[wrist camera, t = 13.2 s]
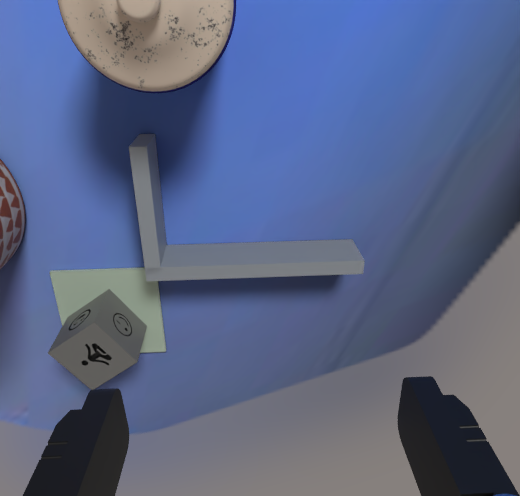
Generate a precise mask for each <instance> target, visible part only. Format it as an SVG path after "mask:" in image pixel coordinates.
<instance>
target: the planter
mask: <svg viewBox="0 0 520 496" xmlns="http://www.w3.org/2000/svg"><path fill="white" fill-rule="evenodd" d="M24 229H25V208H24V203H23V198H22V195H21V192H20V190H19V187H18V185H17V183H16V181H15V179H14V177H13V176H12V174H11V172H10V171H9V169H8V168H7V167H6V165H5V164H4V163H3V161H2V160H1V159H0V269H1V268H2V267H3V266H4V265H5V264H6V263H7V262H8V261H9V260H10V258H11V257H12V256H13V255H14V253H15V252H16V250H17V249H18V247H19V245H20V243H21V240H22V237H23V234H24Z"/></svg>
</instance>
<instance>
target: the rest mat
mask: <svg viewBox="0 0 520 496" xmlns="http://www.w3.org/2000/svg"><path fill="white" fill-rule="evenodd" d="M50 276H51V280H52V284H53V289H54V293H55V297H56V301H57V305H58V310H59V314H60V318H61V322H62V326H63V325H64V323H65V321H66V319H67V317H69V316H70V315H72V314H73V313H74V312H76V311H77V310H79V309H80V308H82V307H83V306H85V305H86V304H88V303H89V302H91V301H92V300H93V299H95V298H96V297H98V296H99V295H101V294H102V293H104V292H105V291H107V290H108V289H110V290H111V291H112V292H113V293H114V294H115V295H116V296H117V297H118V298H119V299H120V300H121V301H122V302H123V303H124V304H125V305H126V306H127V307H128V308H129V309H130V310H131V311H132V312H133V313H134V314H135V315H136V316H137V317H138V318H139V319H141V320H142V321H143V322H144V323H145V324H146V325H147V328H146V332H145V336H144V340H143V343H142V347H141V351H140V353H147V352H166V343H165V335H164V327H163V318H162V310H161V302H160V293H159V285H158V281H146V273H145V267H144V268H114V269H84V270H54V271H50Z"/></svg>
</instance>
